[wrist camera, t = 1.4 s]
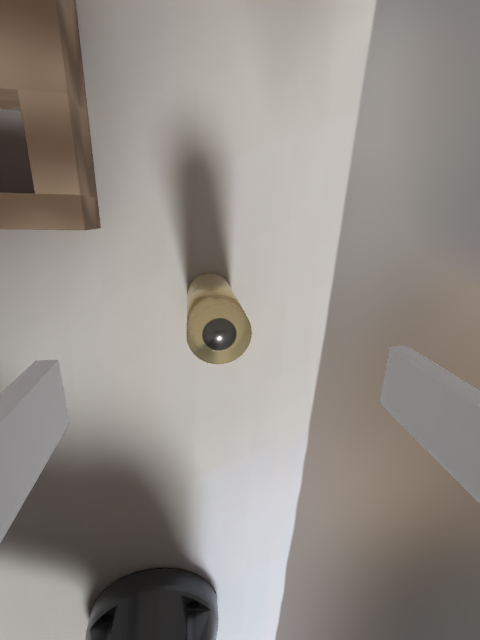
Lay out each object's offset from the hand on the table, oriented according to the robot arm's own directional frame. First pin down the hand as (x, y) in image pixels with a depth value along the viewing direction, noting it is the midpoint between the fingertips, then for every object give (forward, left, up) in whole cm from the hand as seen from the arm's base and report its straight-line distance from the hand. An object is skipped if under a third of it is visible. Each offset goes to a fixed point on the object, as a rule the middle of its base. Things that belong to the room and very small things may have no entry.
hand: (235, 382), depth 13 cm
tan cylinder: (0, 0, -16) cm, 16 cm away
